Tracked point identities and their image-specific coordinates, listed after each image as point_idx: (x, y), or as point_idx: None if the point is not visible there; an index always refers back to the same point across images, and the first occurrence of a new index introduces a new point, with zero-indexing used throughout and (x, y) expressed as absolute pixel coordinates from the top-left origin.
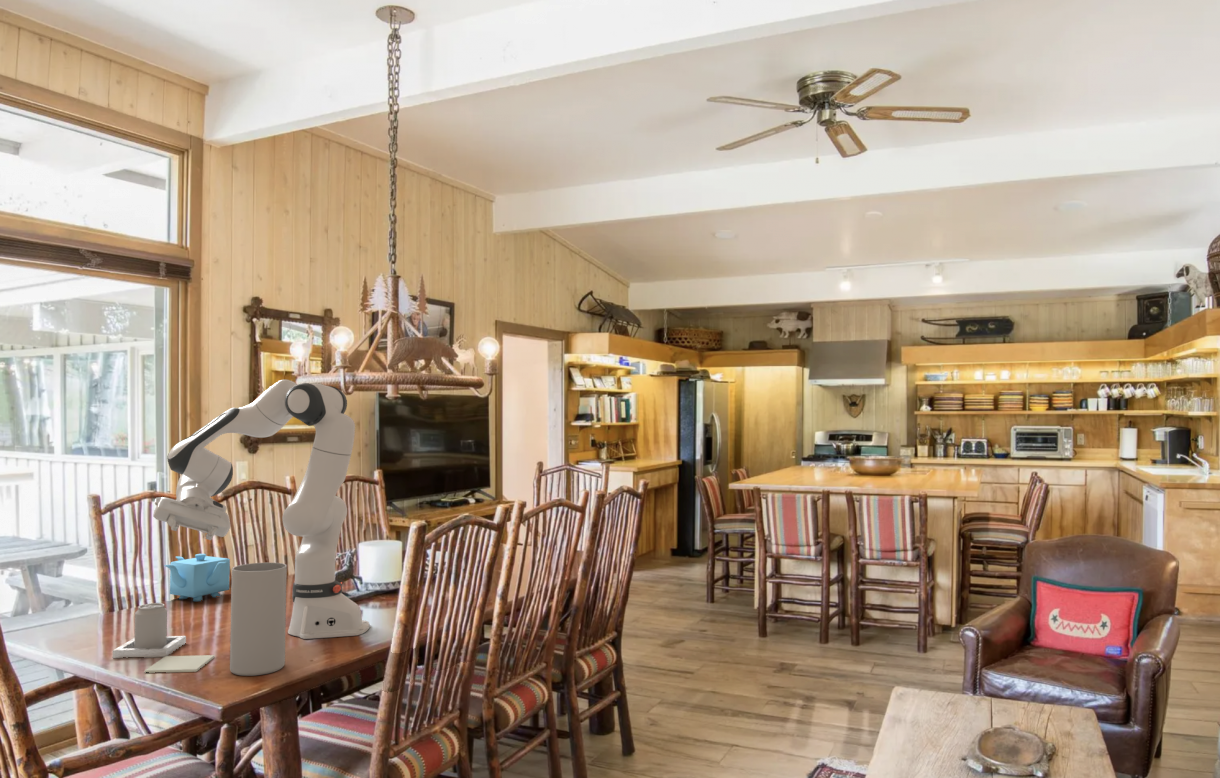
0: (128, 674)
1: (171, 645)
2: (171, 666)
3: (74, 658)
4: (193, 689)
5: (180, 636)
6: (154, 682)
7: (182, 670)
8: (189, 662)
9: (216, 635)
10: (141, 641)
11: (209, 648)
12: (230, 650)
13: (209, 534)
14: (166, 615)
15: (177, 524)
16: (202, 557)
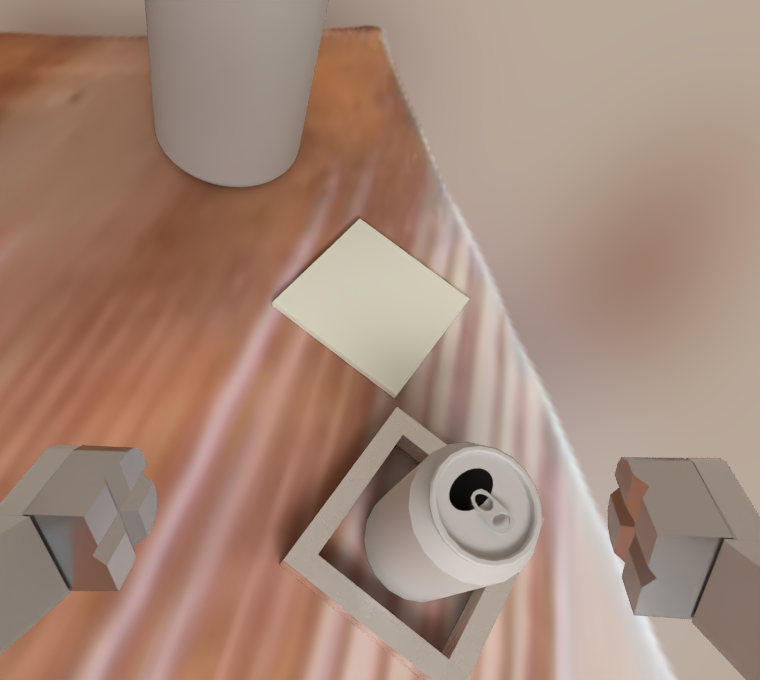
0: (501, 321)
1: (370, 442)
2: (406, 283)
3: (635, 618)
4: (399, 127)
5: (304, 565)
6: (457, 221)
7: (388, 241)
8: (356, 284)
9: (118, 623)
10: (467, 496)
11: (239, 420)
12: (306, 111)
13: (111, 450)
14: (408, 480)
15: (669, 483)
16: None
